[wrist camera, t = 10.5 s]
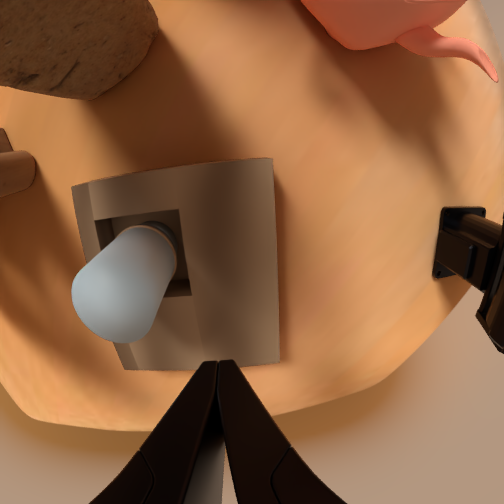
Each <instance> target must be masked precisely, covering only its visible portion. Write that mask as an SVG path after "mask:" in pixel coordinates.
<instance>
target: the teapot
mask: <svg viewBox="0 0 504 504" xmlns="http://www.w3.org/2000/svg"><path fill="white" fill-rule="evenodd" d="M300 1H301V2H302V3H303V4H304V6H305V7H306V8H307V9H308V10H309V11H310V12H311V13H312V14H313V16H314V17H315V18H316V19H317V20H318V21H319V22H320V23H321V24H322V25H323V26H324V27H325V30H326V32H327V34H328V35H329V36H330V37H332V38H333V39H335V40H337V41H338V42H339V43H340V44H342V45H343V46H344V47H346V48H347V49H350V50H365V49H370V48H374V47H379V46H383V45H387V44H391V43H395V42H397V43H399V44H400V45H401V46H403V47H404V48H406V49H407V50H409V51H411V52H413V53H415V54H418V55H421V56H427V57H459V58H464V59H467V60H470V61H472V62H473V63H475V64H477V65H478V66H479V67H480V68H481V69H482V70H484V71H485V72H486V73H487V74H488V76H489V77H490V78H491V79H492V80H493V81H495V82H497V83H498V75H497V73H496V70H495V68H494V66H493V64H492V62H491V61H490V59H489V57H488V56H487V55H486V53H485V52H484V51H483V50H482V49H481V48H480V47H479V46H478V45H477V44H475V43H474V42H472V41H470V40H468V39H465V38H458V37H444V36H441V35H440V34H438V33H437V32H436V31H434V30H433V28H434V27H436V26H438V25H439V24H441V23H443V22H444V21H445V20H447V19H448V18H449V17H450V16H451V15H453V14H454V13H455V12H456V11H457V10H458V9H459V8H460V7H461V6H462V5H463V4H464V3H465V2H466V1H467V0H300Z"/></svg>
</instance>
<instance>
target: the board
mask: <svg viewBox="0 0 504 504" xmlns="http://www.w3.org/2000/svg"><path fill="white" fill-rule="evenodd" d="M71 189H72V196H73V202H74V208H75V213H76V219H77V224H78V228H79V233H80V238H81V242H82V246H83V250H84V254H85V258H86V262H87V264H88V263H89V262H90V261H91V260H92V259H93V258H94V257H95V256H96V255H98V254H99V253H100V252H101V251H102V250H103V249H104V248H105V247H107V246H108V245H109V244H110V243H111V242H112V241H113V240H115V238H116V237H117V236H118V235H119V234H120V233H121V232H122V231H123V230H125V229H126V228H128V227H130V226H134V225H138V224H141V223H143V222H146V221H158V222H161V223H163V224H165V225H167V226H168V227H169V228H170V229H171V230H172V231H173V233H174V234H175V236H176V239H177V244H178V249H177V266H176V270H175V273H174V275H173V277H172V279H171V280H170V282H169V284H168V286H167V289H166V291H165V294H164V296H163V299H162V301H161V303H160V306H159V308H158V311H157V314H156V316H155V319H154V321H153V324H152V326H151V328H150V330H149V332H148V333H147V334H146V335H145V336H144V337H143V338H141V339H139V340H137V341H135V342H131V343H116V342H113V343H114V346H115V348H116V351H117V353H118V356H119V358H120V360H121V363H122V365H123V367H124V369H125V370H197V369H198V368H199V366H200V365H201V363H202V362H204V361H213V360H217V361H218V362H219V361H220V360H228V359H233V360H235V362H236V363H237V365H238V367H246V366H256V365H265V364H274V363H280V343H279V297H278V264H277V238H276V215H275V195H274V176H273V159H272V158H250V159H237V160H225V161H214V162H205V163H196V164H188V165H180V166H172V167H165V168H158V169H152V170H146V171H140V172H134V173H128V174H123V175H117V176H112V177H107V178H102V179H98V180H93V181H89V182H86V183H82V184H79V185H75V186H72V187H71Z"/></svg>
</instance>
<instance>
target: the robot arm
mask: <svg viewBox="0 0 504 504" xmlns="http://www.w3.org/2000/svg"><path fill="white" fill-rule="evenodd" d="M446 212H447V213H446ZM485 215H486V209H485V208H483V207H443V208H442V210H441V218H440V227H439V235H438V243H437V250H436V256H435V262H434V268H433V276H434V277H435V278H443V277H447V276H452V275H458V276H460V277H461V278H462V279H464V280H466V281H467V282H469V283H470V284H472V285H473V286H474V287H476V288H477V289H478V290H480V291H482V292H483V293H484V296H483V299H482V302H481V305H480V307H479V309H478V310H477V313H476V318H477V319H478V321H479V322H480V324H481V325H482V327H483V328H484V330H485V331H486V333H487V335H488V336H489V338H490V339H491V341H492V342H493V344H494V345H495V347H496V348H497V350H498V351H499V352H501V353H503V354H504V213H503V225H500V224H498V223H495V222H493V221H490V220H488V219H486V218H485ZM437 272H438V273H437ZM225 446H226V450H227V456H228V461H229V466H230V471H231V475H232V480H233V484H234V489H235V493H236V497H237V502H238V504H347V503H346V502H344V501H343V500H342V499H341V498H340V497H339V496H337V495H336V494H335V493H334V492H333V491H332V490H331V489H330V488H328V487H327V486H326V485H325V484H324V483H323V482H322V481H321V480H320V479H319V478H318V477H317V476H316V475H315V474H314V473H313V472H312V470H311V469H310V468H309V467H308V465H307V464H306V463H305V462H304V461H303V460H302V458H301V457H300V456H299V454H298V453H297V452H296V450H295V449H294V448H293V447H291V444H290V442H289V441H288V440H287V438H286V437H285V436H284V434H283V433H282V431H281V430H280V429H279V427H278V426H277V424H276V423H275V421H274V420H273V418H272V417H271V415H270V414H269V412H268V411H267V410H266V408H265V407H264V405H263V404H262V402H261V401H260V399H259V398H258V396H257V395H256V393H255V392H254V390H253V389H252V387H251V385H250V384H249V382H248V381H247V379H246V378H245V376H244V375H243V373H242V371H241V370H240V368H239V367H238V365H237V363H236V362H235V360H233V359H228V360H220V361H219V362H218V361H217V360H213V361H204V362H202V363H201V365H200V366H199V368H198V369H197V371H196V372H195V373H194V375H193V376H192V377H191V379H190V380H189V382H188V383H187V384H186V386H185V387H184V389H183V390H182V391H181V393H180V394H179V395H178V397H177V398H176V400H175V401H174V402H173V404H172V405H171V406H170V408H169V409H168V411H167V412H166V413H165V415H164V416H163V417H162V419H161V420H160V421H159V423H158V424H157V425H156V427H155V428H154V430H153V431H152V432H151V434H150V435H149V436H148V438H147V439H146V440H145V442H144V443H143V444H142V446H141V447H140V448H139V449H140V451H137V452H136V453H135V455H134V456H133V457H132V459H131V460H130V461H129V462H128V464H127V465H126V466H125V467H124V468H123V470H122V471H121V472H120V473H119V474H118V476H117V477H116V478H115V479H114V480H113V481H112V482H111V483H110V484H109V485H108V486H107V487H106V488H105V489H104V490H103V491H102V492H101V493H100V494H99V495H98V496H96V497H95V498H94V499H93V500H92V501H91V502H90V503H89V504H221V503H222V488H223V472H224V458H225Z"/></svg>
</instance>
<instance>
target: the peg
mask: <svg viewBox="0 0 504 504" xmlns="http://www.w3.org/2000/svg"><path fill="white" fill-rule="evenodd" d="M177 249H178V244H177V239H176V236H175V234H174V233H173V231H172V230H171V229H170V228H169V227H168V226H167V225H165V224H163V223H161V222H158V221H146V222H143V223H141V224H138V225H134V226H130V227H128V228H126V229H125V230H123V231H122V232H121V233H120V234H119V235H118V236H117V237H116V238H115V240H113V241H112V242H111V243H110V244H109V245H108V246H107V247H105V248H104V249H103V250H102V251H101V252H100V253H99V254H98V255H96V256H95V257H94V258H93V259H92V260H91V261H90V262H89V263H88V264H87V265H85V266H84V267H83V268H82V269H81V270H80V271H79V272H78V273H77V275H76V277H75V278H74V281H73V284H72V291H71V293H72V301H73V305H74V308H75V310H76V312H77V314H78V316H79V318H80V319H81V320H82V322H83V323H84V324H85V325H86V326H87V327H88V328H89V329H90V330H91V331H92V332H93V333H95V334H96V335H98V336H100V337H102V338H103V339H106V340H108V341H112V342H116V343H131V342H135V341H137V340H139V339H141V338H143V337H144V336H145V335H146V334H147V333H148V332H149V330H150V328H151V326H152V324H153V321H154V319H155V316H156V314H157V311H158V308H159V306H160V303H161V301H162V299H163V296H164V294H165V291H166V289H167V286H168V284H169V282H170V280H171V279H172V277H173V275H174V273H175V270H176V266H177Z"/></svg>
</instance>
